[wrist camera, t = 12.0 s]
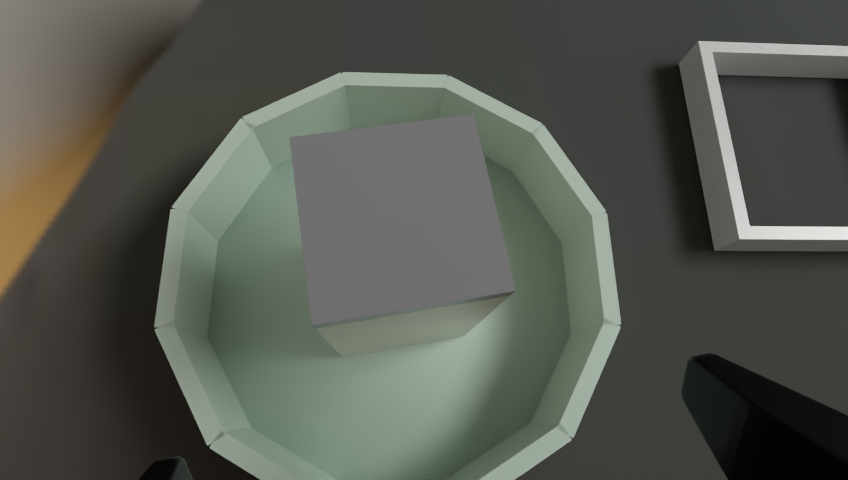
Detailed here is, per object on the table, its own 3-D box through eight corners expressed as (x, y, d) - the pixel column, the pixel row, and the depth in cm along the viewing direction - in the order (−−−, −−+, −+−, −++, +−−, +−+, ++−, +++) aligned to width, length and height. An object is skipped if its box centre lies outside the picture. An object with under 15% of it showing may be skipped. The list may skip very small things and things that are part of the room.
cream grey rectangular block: (464, 335, 21) (515, 290, 13) (342, 357, 21) (311, 325, 12) (441, 222, 23) (473, 114, 14) (327, 240, 22) (289, 137, 14)
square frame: (918, 251, 25) (958, 240, 23) (714, 250, 24) (739, 239, 22) (861, 69, 28) (892, 47, 26) (678, 63, 27) (698, 41, 25)
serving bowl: (594, 488, 21) (645, 509, 17) (180, 500, 20) (126, 526, 15) (556, 131, 25) (589, 78, 21) (223, 124, 24) (190, 67, 20)
